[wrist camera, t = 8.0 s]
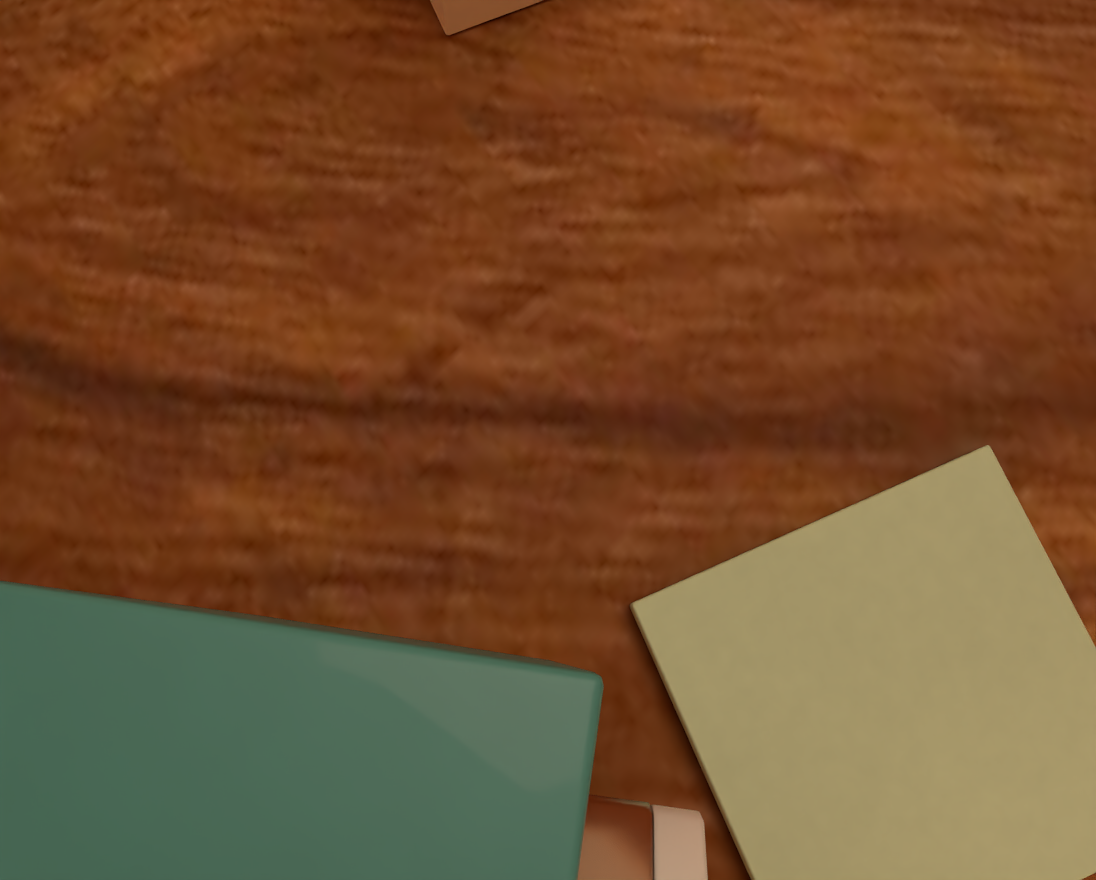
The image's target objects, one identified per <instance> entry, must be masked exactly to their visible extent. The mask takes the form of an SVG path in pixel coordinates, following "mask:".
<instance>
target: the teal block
mask: <svg viewBox="0 0 1096 880" xmlns="http://www.w3.org/2000/svg"><path fill="white" fill-rule="evenodd" d="M603 687H604V686H603V682H602V678H601V676H599V675H597V674H596V673H594V672H591V671H587V670H584V669H580V668H576V667H572V666H569V665H565V664H561V663H557V662H553V661H550V660H544V659H537V658H531V657H524V656H518V655H511V654H505V653H499V652H492V651H486V650H479V649H473V648H466V647H460V646H453V645H447V644H440V643H434V642H427V641H421V640H414V639H408V638H401V637H395V636H388V635H382V634H375V633H369V632H362V631H356V630H349V629H343V628H336V627H330V626H323V625H317V624H310V623H304V622H297V621H291V620H285V619H278V618H272V617H265V616H259V615H251V614H244V613H236V612H229V611H221V610H214V609H207V608H199V607H192V606H184V605H177V604H170V603H162V602H155V601H147V600H140V599H132V598H125V597H118V596H110V595H103V594H95V593H88V592H81V591H73V590H66V589H58V588H51V587H43V586H36V585H29V584H21V583H14V582H6V581H0V880H577V878H578V871H579V864H580V856H581V849H582V842H583V834H584V827H585V820H586V812H587V805H588V797H589V790H590V783H591V775H592V768H593V761H594V753H595V746H596V738H597V731H598V724H599V716H600V709H601V702H602V694H603Z"/></svg>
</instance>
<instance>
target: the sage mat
mask: <svg viewBox="0 0 1096 880" xmlns="http://www.w3.org/2000/svg"><path fill="white" fill-rule="evenodd" d="M630 609H631V611H632V613H633V615H634V618H635V620H636V622H637V624H638V627H639V629H640V631H641V633H642V636H643V638H644V640H645V642H646V645H647V647H648V649H649V651H650V654H651V656H652V658H653V660H654V663H655V665H656V667H657V669H658V672H659V674H660V676H661V678H662V681H663V683H664V685H665V687H666V690H667V692H668V694H669V696H670V699H671V701H672V703H673V705H674V708H675V710H676V712H677V714H678V717H679V719H680V721H681V723H682V726H683V728H684V730H685V732H686V735H687V737H688V739H689V741H690V744H691V746H692V748H693V750H694V753H695V755H696V757H697V759H698V762H699V764H700V766H701V768H702V771H703V773H704V775H705V777H706V780H707V782H708V784H709V786H710V788H711V791H712V793H713V795H714V797H715V800H716V802H717V804H718V806H719V809H720V811H721V813H722V815H723V818H724V820H725V822H726V824H727V827H728V829H729V831H730V833H731V836H732V838H733V840H734V842H735V845H736V847H737V849H738V851H739V854H740V856H741V858H742V860H743V863H744V865H745V867H746V869H747V872H748V874H749V876H750V878H751V880H1082V879H1084V878H1086V877H1088V876H1090V875H1092V874H1094V873H1096V647H1095V645H1094V643H1093V642H1092V640H1091V638H1090V636H1089V634H1088V632H1087V630H1086V628H1085V626H1084V624H1083V623H1082V621H1081V619H1080V617H1079V615H1078V613H1077V611H1076V609H1075V607H1074V605H1073V603H1072V602H1071V600H1070V598H1069V596H1068V594H1067V592H1066V590H1065V588H1064V586H1063V584H1062V582H1061V581H1060V579H1059V577H1058V575H1057V573H1056V571H1055V569H1054V567H1053V565H1052V563H1051V562H1050V560H1049V558H1048V556H1047V554H1046V552H1045V550H1044V548H1043V546H1042V544H1041V542H1040V541H1039V539H1038V537H1037V535H1036V533H1035V531H1034V529H1033V527H1032V525H1031V523H1030V522H1029V520H1028V518H1027V516H1026V514H1025V512H1024V510H1023V508H1022V506H1021V504H1020V502H1019V501H1018V499H1017V497H1016V495H1015V493H1014V491H1013V489H1012V487H1011V485H1010V483H1009V481H1008V480H1007V478H1006V476H1005V474H1004V472H1003V470H1002V468H1001V466H1000V464H999V462H998V461H997V459H996V457H995V455H994V453H993V451H992V449H991V447H990V446H989V445H986V446H984V447H981V448H979V449H977V450H975V451H972V452H970V453H968V454H966V455H963V456H961V457H959V458H957V459H954V460H952V461H950V462H948V463H945V464H943V465H941V466H939V467H936V468H934V469H932V470H930V471H927V472H925V473H923V474H921V475H918V476H916V477H914V478H912V479H909V480H907V481H905V482H903V483H900V484H898V485H896V486H894V487H891V488H889V489H887V490H885V491H882V492H880V493H878V494H876V495H873V496H871V497H869V498H867V499H864V500H862V501H860V502H858V503H855V504H853V505H851V506H849V507H846V508H844V509H842V510H840V511H837V512H835V513H833V514H831V515H828V516H826V517H824V518H822V519H819V520H817V521H815V522H813V523H810V524H808V525H806V526H804V527H801V528H799V529H797V530H795V531H792V532H790V533H788V534H786V535H783V536H781V537H779V538H777V539H774V540H772V541H770V542H768V543H765V544H763V545H761V546H759V547H756V548H754V549H752V550H750V551H747V552H745V553H743V554H741V555H738V556H736V557H734V558H732V559H729V560H727V561H725V562H723V563H720V564H718V565H716V566H714V567H711V568H709V569H707V570H705V571H702V572H700V573H698V574H696V575H693V576H691V577H689V578H687V579H685V580H682V581H680V582H678V583H676V584H673V585H671V586H669V587H667V588H664V589H662V590H660V591H658V592H655V593H653V594H651V595H649V596H646V597H644V598H642V599H640V600H637V601H635V602H633V603H631V604H630Z"/></svg>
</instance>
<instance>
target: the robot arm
mask: <svg viewBox="0 0 1096 880" xmlns="http://www.w3.org/2000/svg"><path fill="white" fill-rule="evenodd" d="M577 880H708V877H707V861H706V846H705V831H704V821H703V819H702V817H701V814H700V812H698V811H694V810H687V809H680V808H673V807H666V806H658V805H649V803H648V802H641V801H633V800H626V799H619V798H611V797H604V796H597V795H590V794H589V797H588V805H587V812H586V820H585V827H584V834H583V842H582V849H581V856H580V864H579V871H578V878H577Z"/></svg>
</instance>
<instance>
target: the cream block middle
mask: <svg viewBox="0 0 1096 880" xmlns="http://www.w3.org/2000/svg"><path fill="white" fill-rule="evenodd" d="M540 1H543V0H430V2H431V4H432V6H433V8H434V10H435V13H436V15H437V17H438V19H439V21H440V23H441V26H442V28H443V30H444V32H445V34H446V35H451V34H454V33H456V32H459V31H462V30H465V29H467V28H470V27H473V26H475V25H478V24H481V23H484V22H486V21H489V20H492V19H494V18H497V17H500V16H503V15H505V14H508V13H511V12H513V11H516V10H519V9H522V8H524V7H527V6H530V5H532V4H535V3H538V2H540Z"/></svg>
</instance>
